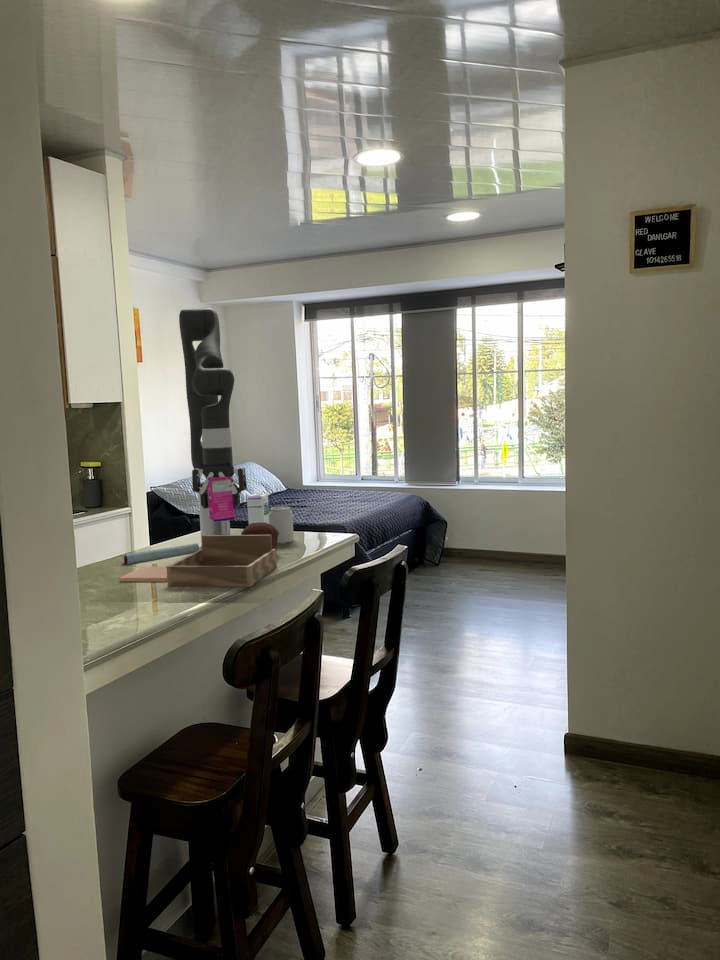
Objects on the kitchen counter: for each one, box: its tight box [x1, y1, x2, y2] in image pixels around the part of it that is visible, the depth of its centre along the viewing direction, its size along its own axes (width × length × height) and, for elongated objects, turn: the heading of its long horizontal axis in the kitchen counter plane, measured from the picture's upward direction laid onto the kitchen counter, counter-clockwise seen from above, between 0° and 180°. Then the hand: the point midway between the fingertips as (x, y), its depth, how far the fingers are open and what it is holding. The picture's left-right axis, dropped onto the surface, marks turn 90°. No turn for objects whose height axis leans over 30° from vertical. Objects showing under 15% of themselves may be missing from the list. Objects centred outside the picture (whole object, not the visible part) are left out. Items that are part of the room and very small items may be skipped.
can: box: [269, 506, 295, 544], centre depth 239 cm, size 8×8×12 cm
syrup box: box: [246, 493, 270, 525], centre depth 254 cm, size 6×6×14 cm
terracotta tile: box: [119, 566, 168, 583], centre depth 200 cm, size 13×13×1 cm
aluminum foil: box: [123, 543, 200, 565], centre depth 222 cm, size 23×7×3 cm, turn 127°
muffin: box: [240, 522, 280, 551], centre depth 220 cm, size 12×11×10 cm
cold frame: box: [166, 534, 278, 588], centre depth 196 cm, size 22×22×9 cm
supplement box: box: [205, 476, 236, 522], centre depth 195 cm, size 6×6×12 cm
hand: (220, 507), depth 195 cm, fingers closed on supplement box, 8 cm apart
